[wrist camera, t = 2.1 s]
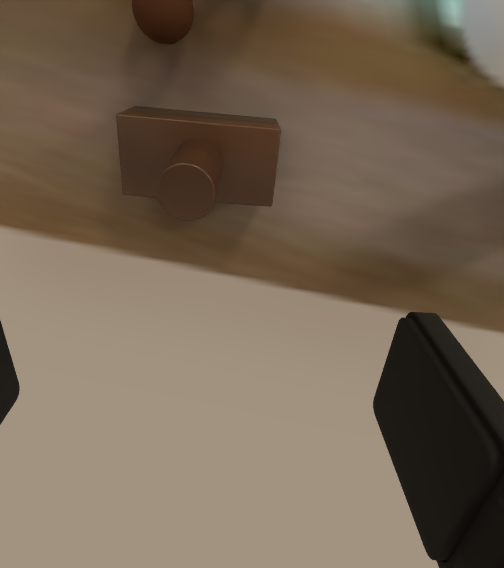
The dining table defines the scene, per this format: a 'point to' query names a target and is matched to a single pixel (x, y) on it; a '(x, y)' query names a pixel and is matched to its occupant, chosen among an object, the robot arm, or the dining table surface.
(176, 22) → the crumb
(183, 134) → the wooden stamp
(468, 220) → the dining table surface
